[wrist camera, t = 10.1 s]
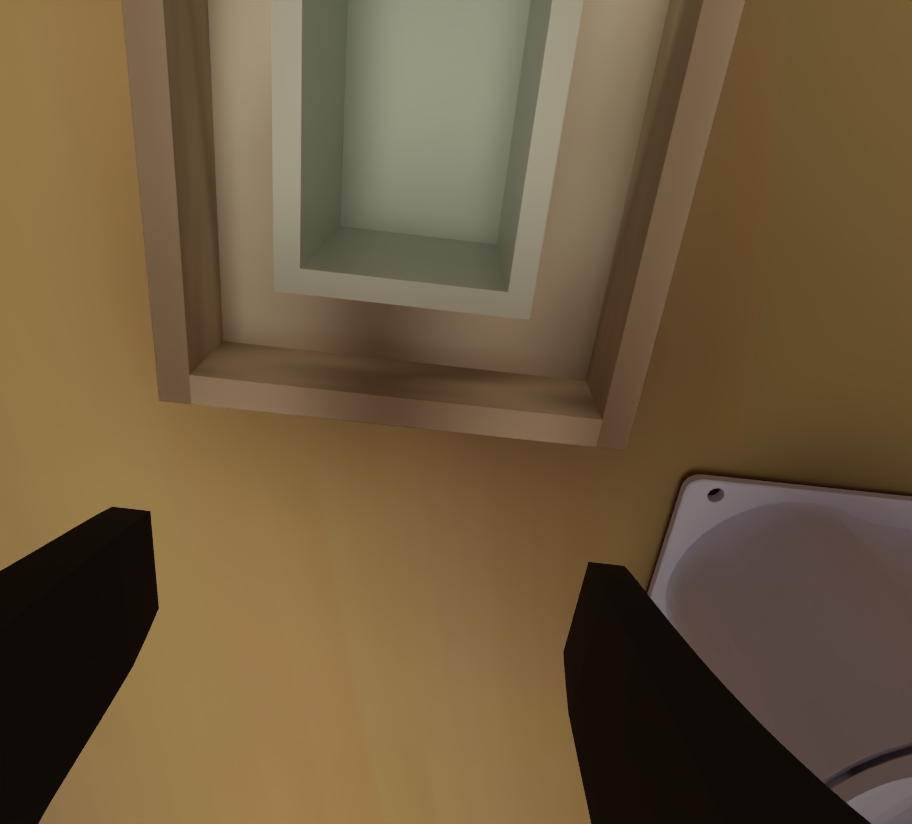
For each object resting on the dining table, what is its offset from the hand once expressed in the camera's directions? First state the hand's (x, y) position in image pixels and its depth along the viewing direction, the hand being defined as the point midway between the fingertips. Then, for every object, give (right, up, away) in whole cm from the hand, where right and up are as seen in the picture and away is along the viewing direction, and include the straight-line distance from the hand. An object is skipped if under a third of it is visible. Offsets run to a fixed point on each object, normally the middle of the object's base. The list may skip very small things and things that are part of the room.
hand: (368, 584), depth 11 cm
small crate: (+1, +11, +5) cm, 12 cm away
